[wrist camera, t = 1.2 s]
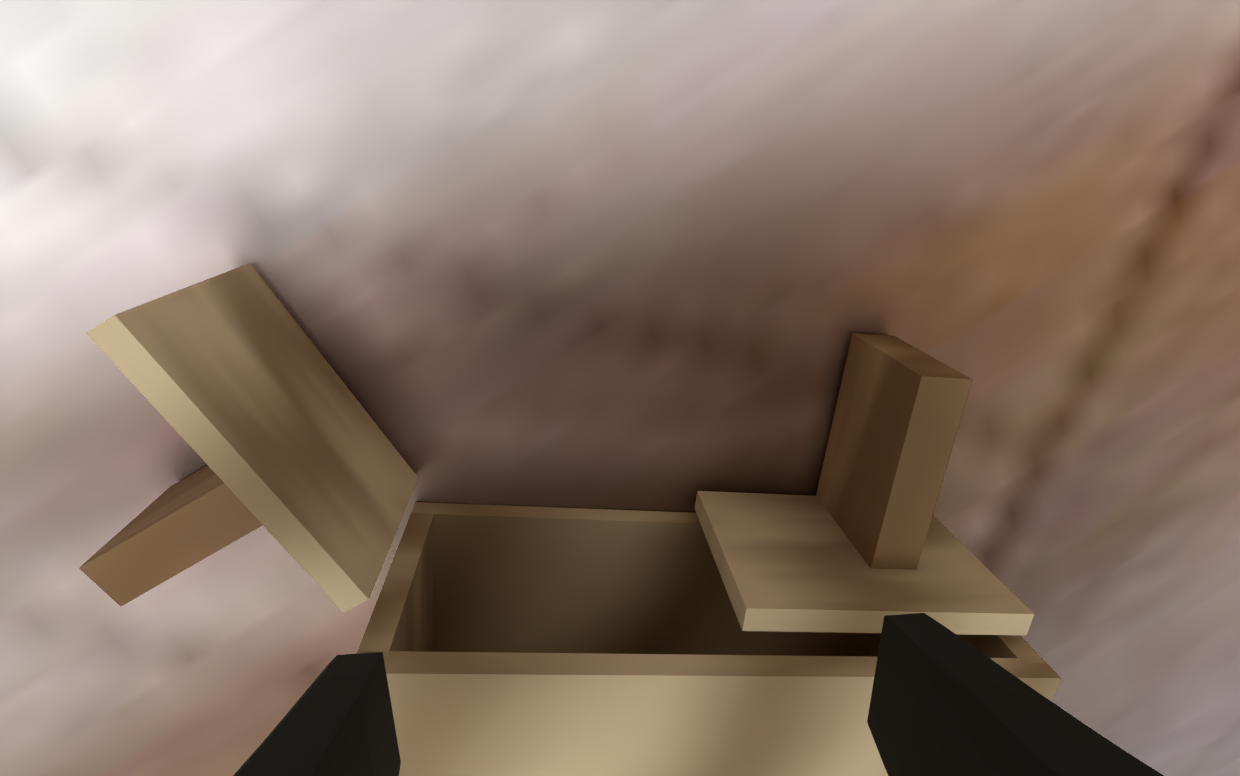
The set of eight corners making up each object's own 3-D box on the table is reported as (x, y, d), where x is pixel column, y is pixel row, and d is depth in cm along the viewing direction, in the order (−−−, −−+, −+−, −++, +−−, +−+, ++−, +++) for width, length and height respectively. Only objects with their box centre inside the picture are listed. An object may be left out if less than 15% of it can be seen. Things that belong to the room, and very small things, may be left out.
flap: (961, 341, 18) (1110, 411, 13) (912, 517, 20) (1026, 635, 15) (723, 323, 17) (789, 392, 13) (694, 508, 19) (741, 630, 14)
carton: (910, 520, 21) (1061, 678, 14) (837, 781, 24) (932, 994, 18) (415, 502, 19) (349, 673, 13) (417, 787, 22) (366, 1026, 16)
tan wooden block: (65, 377, 16) (-143, 476, 11) (249, 263, 16) (115, 314, 11) (252, 571, 19) (145, 722, 14) (418, 477, 18) (368, 599, 13)
